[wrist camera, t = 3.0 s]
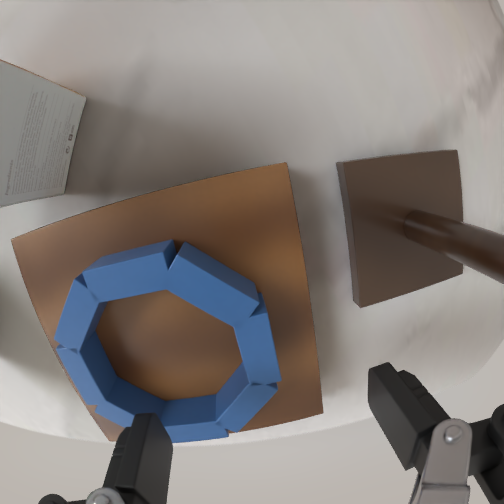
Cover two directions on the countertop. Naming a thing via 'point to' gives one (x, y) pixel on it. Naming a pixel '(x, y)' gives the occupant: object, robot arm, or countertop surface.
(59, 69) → the countertop surface
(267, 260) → the platform
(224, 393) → the ring
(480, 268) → the ring stand
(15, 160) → the small box
